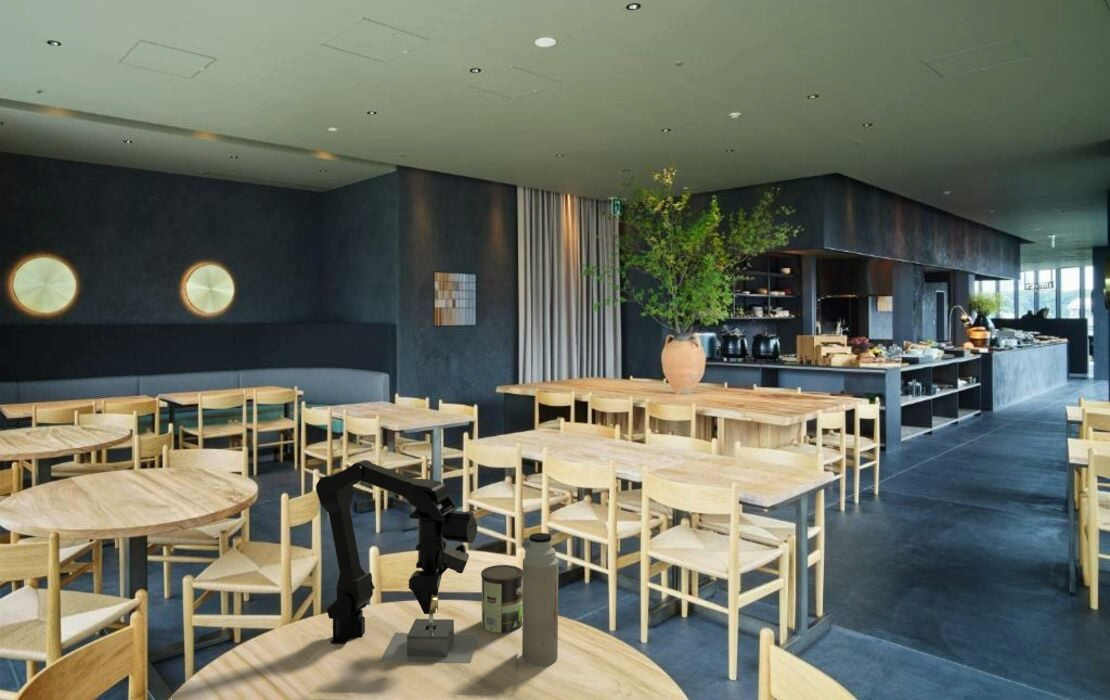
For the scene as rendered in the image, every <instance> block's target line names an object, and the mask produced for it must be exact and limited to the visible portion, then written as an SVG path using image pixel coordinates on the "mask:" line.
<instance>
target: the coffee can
mask: <svg viewBox="0 0 1110 700" xmlns="http://www.w3.org/2000/svg"><path fill="white" fill-rule="evenodd" d="M480 576H481V628H482V629H484V630H485V631H487V632H490V633H493V634H508V633H512V632H516V631H517V630H519V629H521V631H522V629H523V568H521V567H519V566H515V565H510V564H509V565H508V564H496V565H490V566H488V567H485V568H484V569H482V570H481V571H480Z"/></svg>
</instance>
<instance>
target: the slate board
mask: <svg viewBox="0 0 1110 700" xmlns="http://www.w3.org/2000/svg"><path fill="white" fill-rule="evenodd" d="M408 633H409V632H407V633H406V632H394V633H393V636H392V637H391V640H390V641H389V643H388V645H387V647H386V648H385V651H384V652H383V654H382V655H381V658H380V660H379V663H382V662H384V663H389V662H390V663H432V664H433V663H434V664H435V663H438V664H439V663H442V664H471V663H472V658H473V655H474V652H475V649H476V644H477V641H478V638H479V634H478V633H477V634H475V633H454V640H453V643H452V645H451V648H450V651H449V654H448V657H414V656H407V635H408Z"/></svg>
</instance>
